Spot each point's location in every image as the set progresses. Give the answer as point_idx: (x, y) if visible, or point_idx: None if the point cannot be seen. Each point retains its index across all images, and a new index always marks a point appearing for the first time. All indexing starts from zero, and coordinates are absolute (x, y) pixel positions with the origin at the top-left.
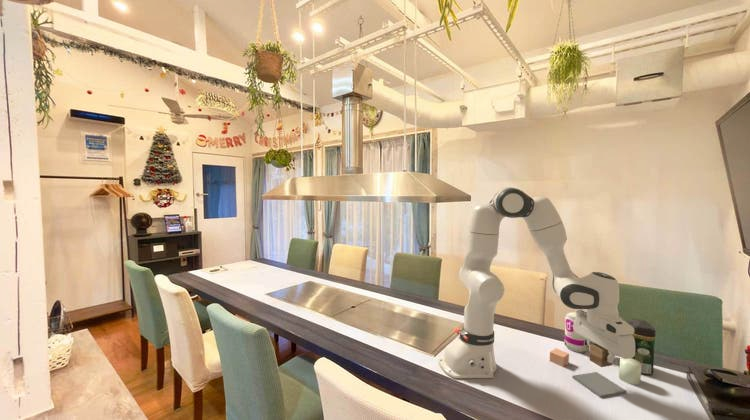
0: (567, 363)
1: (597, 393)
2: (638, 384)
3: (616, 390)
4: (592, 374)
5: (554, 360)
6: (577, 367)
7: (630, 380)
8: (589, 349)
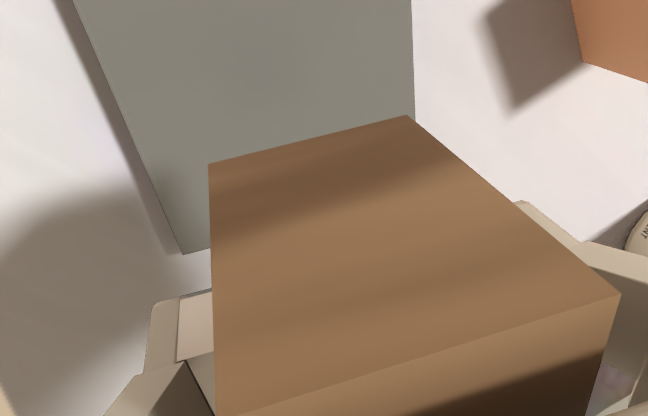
0: (580, 42)
1: None
2: None
3: (176, 187)
4: None
5: None
6: (512, 93)
7: None
8: (543, 219)
